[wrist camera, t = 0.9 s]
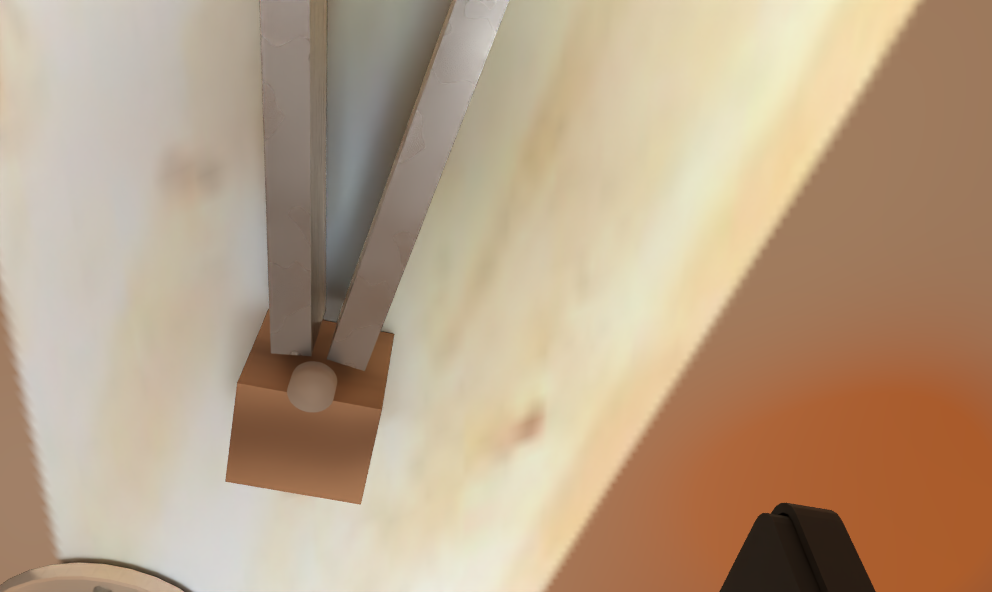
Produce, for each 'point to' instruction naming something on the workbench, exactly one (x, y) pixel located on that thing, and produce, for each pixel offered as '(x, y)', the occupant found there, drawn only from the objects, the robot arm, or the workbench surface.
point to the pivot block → (307, 419)
